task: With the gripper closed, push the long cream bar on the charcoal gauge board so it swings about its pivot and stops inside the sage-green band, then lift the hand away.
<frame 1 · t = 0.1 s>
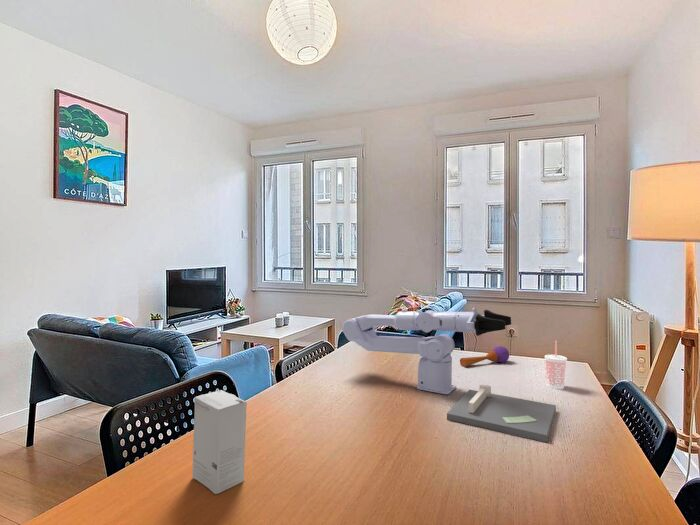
hand: (508, 322, 110), 22 cm above the table, tool horizontal, fingers open, 7 cm apart
cream bar: (479, 398, 106), point 3 cm above the table, hinge at 0.0°
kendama: (485, 364, 148), on the table
gauge board: (502, 415, 102), on the table
skincare box: (219, 481, 73), on the table
beverage cup: (555, 387, 124), on the table
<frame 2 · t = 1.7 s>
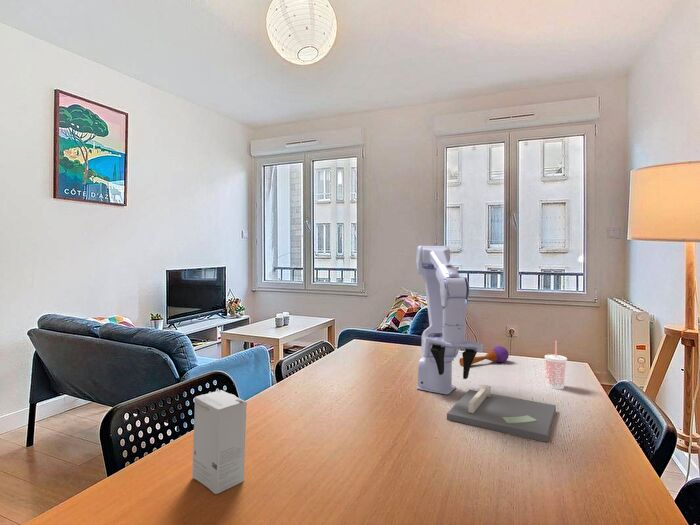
hand: (453, 375, 106), 8 cm above the table, tool pointing down, fingers open, 6 cm apart
nothing on the table moved.
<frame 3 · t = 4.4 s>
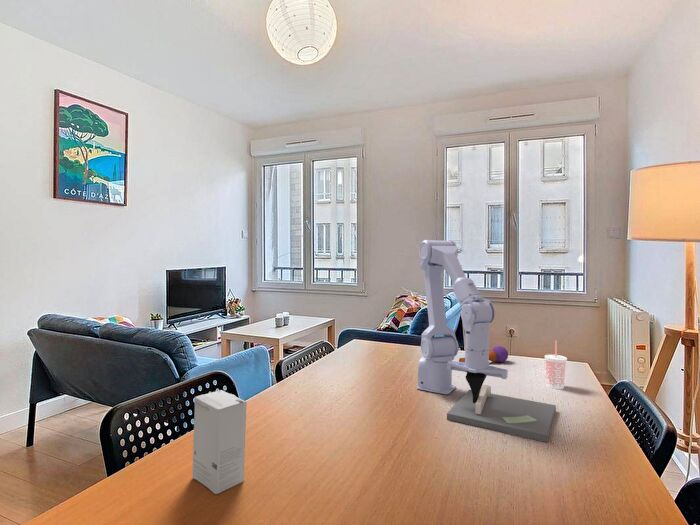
hand: (476, 402, 103), 3 cm above the table, tool pointing down, fingers closed, pressing on cream bar
cream bar: (482, 398, 105), point 3 cm above the table, hinge at 6.9°, touching gripper
everything else where it was.
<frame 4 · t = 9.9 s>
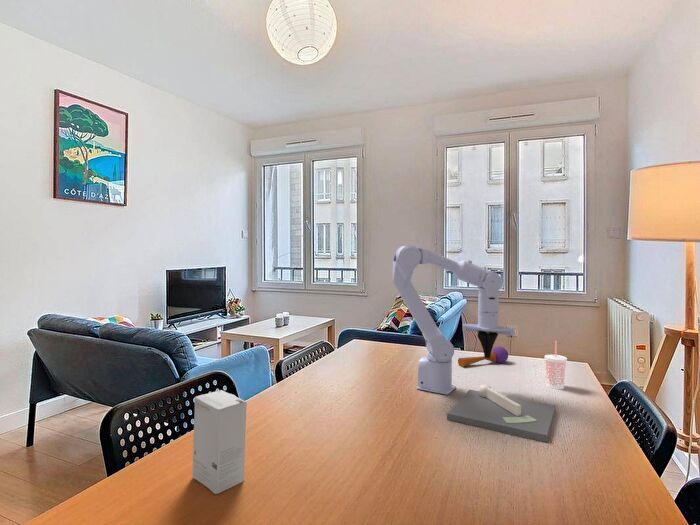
hand: (487, 357, 121), 9 cm above the table, tool pointing down, fingers closed
cream bar: (499, 399, 105), point 3 cm above the table, hinge at 46.5°
everything else where it was.
at the end: cream bar at +46° (first picture: +0°) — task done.
